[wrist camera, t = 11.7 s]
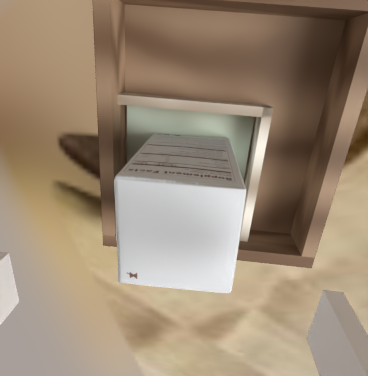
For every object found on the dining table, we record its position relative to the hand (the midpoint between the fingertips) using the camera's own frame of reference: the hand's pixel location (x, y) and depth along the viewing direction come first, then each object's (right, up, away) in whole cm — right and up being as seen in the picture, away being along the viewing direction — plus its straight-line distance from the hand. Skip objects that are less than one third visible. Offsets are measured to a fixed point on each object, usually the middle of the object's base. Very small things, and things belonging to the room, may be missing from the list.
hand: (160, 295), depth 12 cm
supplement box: (+2, +6, +16) cm, 17 cm away
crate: (+4, +10, +15) cm, 18 cm away
